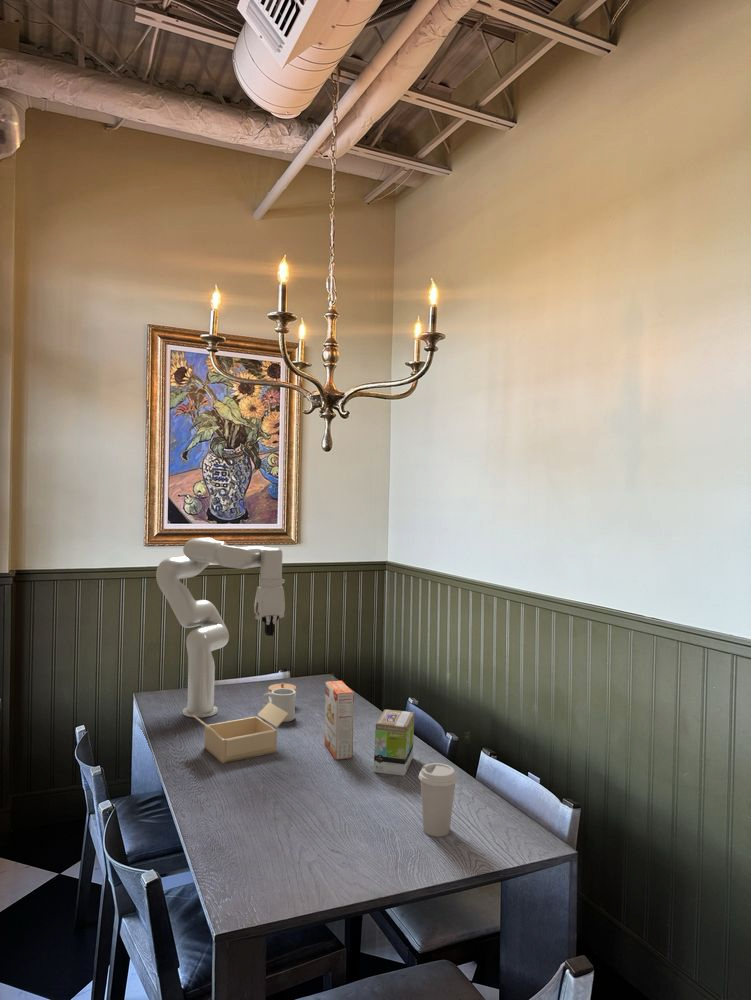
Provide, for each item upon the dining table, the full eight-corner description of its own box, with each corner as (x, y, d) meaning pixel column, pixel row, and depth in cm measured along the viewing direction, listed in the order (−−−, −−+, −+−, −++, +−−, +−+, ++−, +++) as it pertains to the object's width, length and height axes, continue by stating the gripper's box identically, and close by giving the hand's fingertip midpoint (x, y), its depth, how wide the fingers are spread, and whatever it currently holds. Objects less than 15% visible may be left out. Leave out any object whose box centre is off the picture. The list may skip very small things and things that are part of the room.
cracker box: (323, 744, 220) (324, 680, 220) (340, 742, 222) (342, 679, 222) (334, 760, 207) (336, 693, 207) (353, 758, 209) (355, 691, 209)
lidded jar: (262, 709, 254) (263, 685, 254) (275, 701, 264) (275, 678, 264) (288, 713, 251) (289, 688, 251) (300, 704, 261) (300, 680, 261)
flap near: (205, 723, 214) (204, 724, 214) (193, 714, 212) (192, 715, 212) (222, 737, 203) (221, 738, 203) (209, 727, 200) (208, 728, 200)
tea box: (406, 776, 197) (407, 726, 197) (372, 773, 199) (374, 723, 199) (413, 757, 211) (414, 710, 211) (382, 754, 213) (383, 707, 213)
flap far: (276, 726, 213) (277, 727, 213) (288, 713, 215) (288, 714, 216) (257, 714, 224) (258, 715, 225) (269, 701, 227) (269, 702, 227)
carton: (203, 746, 215) (204, 725, 215) (255, 736, 225) (256, 716, 225) (223, 763, 202) (223, 740, 202) (277, 752, 212) (277, 730, 212)
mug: (297, 715, 248) (298, 688, 248) (292, 723, 239) (293, 695, 239) (265, 713, 250) (265, 686, 250) (258, 721, 241) (259, 693, 241)
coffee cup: (431, 817, 172) (433, 758, 172) (463, 829, 166) (465, 769, 166) (409, 830, 165) (411, 769, 164) (441, 844, 158) (443, 781, 158)
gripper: (285, 580, 244) (283, 631, 244) (246, 582, 235) (245, 635, 235) (294, 583, 237) (293, 635, 237) (255, 585, 229) (254, 639, 229)
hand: (269, 635), depth 236 cm, fingers closed
